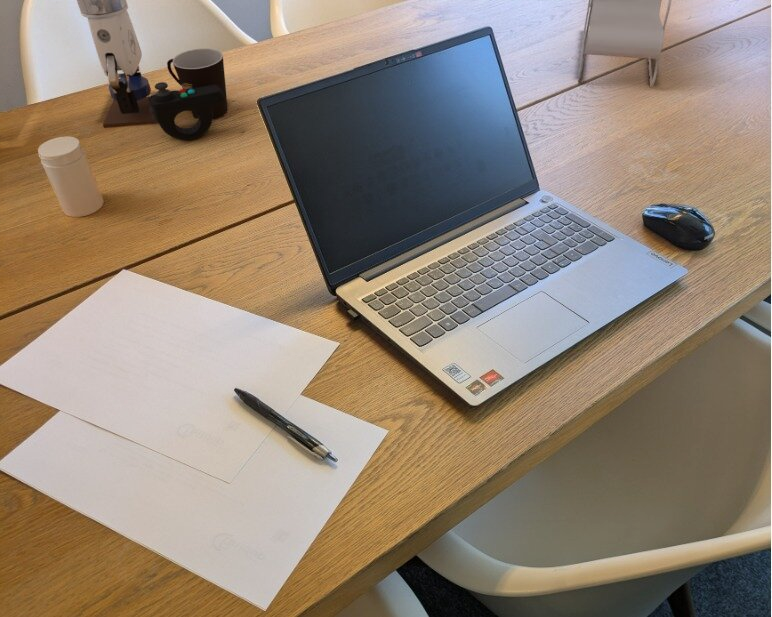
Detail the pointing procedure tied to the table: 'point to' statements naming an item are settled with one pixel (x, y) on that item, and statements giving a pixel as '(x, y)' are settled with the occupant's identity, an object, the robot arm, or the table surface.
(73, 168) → the jar
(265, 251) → the table surface
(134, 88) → the jar lid
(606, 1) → the chair
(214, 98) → the controller
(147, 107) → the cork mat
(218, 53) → the coffee mug
